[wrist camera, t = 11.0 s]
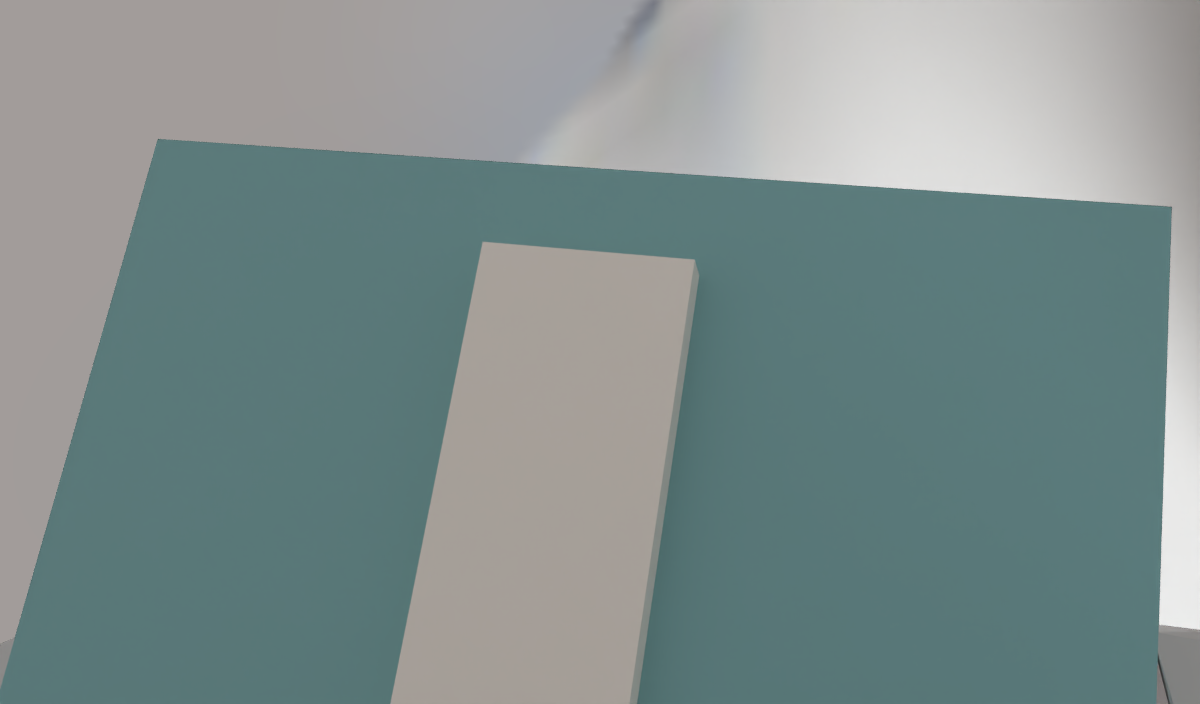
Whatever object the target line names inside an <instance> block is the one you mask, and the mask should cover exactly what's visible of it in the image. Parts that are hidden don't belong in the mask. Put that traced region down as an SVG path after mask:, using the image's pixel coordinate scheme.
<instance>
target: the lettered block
mask: <svg viewBox="0 0 1200 704" xmlns="http://www.w3.org/2000/svg"><path fill="white" fill-rule="evenodd" d="M1171 213H1172V207H1166V206H1151V205H1136V204H1121V203H1106V202H1091V201H1076V200H1061V199H1046V198H1031V197H1016V196H1001V195H987V194H972V193H957V192H942V191H927V190H912V189H897V188H882V187H867V186H852V185H837V184H822V183H807V182H792V181H777V180H762V179H747V178H733V177H718V176H703V175H688V174H673V173H658V172H643V171H628V170H613V169H598V168H583V167H568V166H553V165H538V164H523V163H508V162H493V161H479V160H464V159H449V158H433V157H419V156H404V155H388V154H373V153H359V152H358V153H357V152H344V151H329V150H314V149H298V148H284V147H269V146H254V145H239V144H225V143H224V144H223V143H209V142H195V141H179V140H165V139H158V141H157V144H156V147H155V151H154V154H153V158H152V161H151V165H150V168H149V172H148V175H147V179H146V182H145V186H144V189H143V193H142V196H141V200H140V203H139V207H138V210H137V214H136V217H135V220H134V224H133V227H132V231H131V234H130V238H129V241H128V245H127V249H126V252H125V255H124V259H123V262H122V266H121V269H120V273H119V276H118V280H117V283H116V287H115V290H114V294H113V297H112V301H111V304H110V308H109V311H108V315H107V318H106V322H105V325H104V329H103V332H102V336H101V339H100V343H99V346H98V350H97V353H96V356H95V360H94V363H93V367H92V371H91V374H90V377H89V381H88V384H87V388H86V391H85V395H84V398H83V402H82V405H81V409H80V413H79V416H78V419H77V423H76V426H75V430H74V433H73V437H72V440H71V444H70V447H69V451H68V455H67V458H66V461H65V465H64V468H63V472H62V475H61V479H60V482H59V485H58V489H57V492H56V496H55V499H54V503H53V507H52V510H51V514H50V517H49V520H48V524H47V528H46V531H45V534H44V538H43V541H42V545H41V548H40V552H39V555H38V559H37V563H36V566H35V569H34V573H33V576H32V580H31V583H30V587H29V590H28V594H27V597H26V601H25V604H24V608H23V611H22V614H21V618H20V622H19V625H18V628H17V632H16V635H15V639H14V642H13V646H12V649H11V653H10V656H9V660H8V663H7V667H6V670H5V674H4V677H3V681H2V684H1V688H0V704H1156V698H1157V665H1158V633H1159V601H1160V568H1161V536H1162V504H1163V471H1164V439H1165V407H1166V374H1167V342H1168V310H1169V277H1170V245H1171Z"/></svg>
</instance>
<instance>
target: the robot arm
mask: <svg viewBox="0 0 1200 704" xmlns="http://www.w3.org/2000/svg"><path fill="white" fill-rule="evenodd" d="M14 639H15V637H14V638H13V639H10V640H8V641H5V642H3V643H1V644H0V688H1V684H2V681H3V677H4V674H5V670H6V667H7V663H8V660H9V656H10V653H11V649H12V646H13V642H14ZM1156 704H1200V630H1197V629H1189V628H1181V627H1173V626H1165V625H1159V633H1158V665H1157V698H1156Z"/></svg>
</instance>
